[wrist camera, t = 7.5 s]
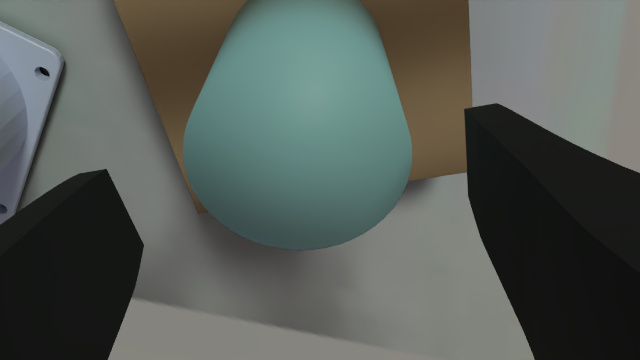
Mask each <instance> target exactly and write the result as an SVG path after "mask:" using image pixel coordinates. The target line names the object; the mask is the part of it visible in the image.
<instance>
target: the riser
mask: <svg viewBox="0 0 640 360" xmlns="http://www.w3.org/2000/svg"><path fill="white" fill-rule="evenodd" d="M113 1H114V3H115V6H116V8H117V11H118V13H119V16H120V18H121V21H122V23H123V26H124V28H125V31H126V33H127V36H128V38H129V41H130V43H131V46H132V48H133V51H134V53H135V56H136V58H137V61H138V64H139V66H140V69H141V71H142V74H143V76H144V79H145V81H146V84H147V86H148V89H149V91H150V94H151V96H152V99H153V101H154V104H155V106H156V109H157V111H158V114H159V116H160V119H161V121H162V124H163V126H164V129H165V131H166V134H167V136H168V139H169V141H170V144H171V146H172V149H173V151H174V154H175V156H176V159H177V161H178V164H179V166H180V169H181V171H182V174H183V176H184V179H185V181H186V184H187V186H188V189H189V191H190V194H191V196H192V199H193V201H194V204H195V206H196V209H197V211H198V213H204V212H208V211H207V210H206V209H205V207H204V206H203V205H202V203H201V202H200V201H199V199H198V198H197V196H196V194H195V193H194V191H193V189H192V187H191V185H190V182H189V180H188V177H187V174H186V170H185V166H184V158H183V140H184V134H185V129H186V125H187V122H188V120H189V117H190V115H191V112H192V110H193V108H194V105H195V103H196V101H197V99H198V97H199V94H200V92H201V90H202V88H203V86H204V83H205V81H206V79H207V77H208V74H209V72H210V70H211V68H212V66H213V63H214V61H215V59H216V57H217V55H218V52H219V50H220V48H221V46H222V44H223V41H224V39H225V37H226V35H227V33H228V30H229V28H230V26H231V24H232V22H233V20H234V18H235V16H236V14H237V13H238V11H239V10H240V9H241V7H242V6H243V5H244V4H245V3H246V2H247V1H248V0H113ZM359 1H360V2H361V3H363V5H364V6H365V7H366V8H367V10H368V11H369V12H370V14H371V15H372V17H373V19H374V20H375V22H376V24H377V27H378V29H379V32H380V35H381V38H382V42H383V45H384V48H385V52H386V55H387V58H388V62H389V65H390V69H391V72H392V75H393V79H394V82H395V85H396V89H397V92H398V95H399V99H400V102H401V105H402V109H403V112H404V115H405V119H406V122H407V125H408V129H409V133H410V136H411V143H412V165H411V171H410V176H409V179H408V181H413V180H419V179H426V178H432V177H439V176H445V175H452V174H458V173H465V172H467V159H466V138H465V117H464V109H466V108H472V82H471V56H470V30H469V4H468V0H359Z"/></svg>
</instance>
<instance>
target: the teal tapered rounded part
mask: <svg viewBox="0 0 640 360" xmlns="http://www.w3.org/2000/svg"><path fill="white" fill-rule="evenodd" d="M183 158H184V166H185V170H186V174H187V177H188V180H189V182H190V185H191V187H192V189H193V191H194V193H195V194H196V196H197V198H198V199H199V201H200V202H201V203H202V205H203V206H204V207H205V209H206V210H207V211H208V212H209V213H210V214H211V215H212V216H213V217H214V218H215V219H216V220H217V221H219V222H220V223H221V224H222V225H224V226H225V227H226V228H228V229H230V230H231V231H233V232H234V233H236V234H238V235H240V236H242V237H244V238H246V239H248V240H250V241H253V242H256V243H259V244H262V245H266V246H269V247H273V248H280V249H286V250H314V249H320V248H327V247H331V246H335V245H338V244H341V243H344V242H347V241H349V240H352V239H354V238H356V237H358V236H360V235H362V234H364V233H365V232H367V231H368V230H370V229H371V228H373V227H374V226H375V225H377V224H378V223H379V222H380V221H381V220H383V219H384V218H385V217H386V215H387V214H388V213H389V212H390V211H391V210H392V209H393V208H394V206H395V205H396V203H397V202H398V200H399V199H400V197H401V195H402V193H403V191H404V189H405V187H406V185H407V182H408V179H409V176H410V171H411V165H412V143H411V136H410V133H409V129H408V125H407V122H406V119H405V115H404V112H403V109H402V105H401V102H400V99H399V95H398V92H397V89H396V85H395V82H394V79H393V75H392V72H391V69H390V65H389V62H388V58H387V55H386V52H385V48H384V45H383V42H382V38H381V35H380V32H379V29H378V27H377V24H376V22H375V20H374V19H373V17H372V15H371V14H370V12H369V11H368V10H367V8H366V7H365V6H364V5H363V3H361V2H360V1H359V0H248V1H247V2H246V3H245V4H244V5H243V6H242V7H241V9H240V10H239V11H238V13H237V14H236V16H235V18H234V20H233V22H232V24H231V26H230V28H229V30H228V33H227V35H226V37H225V39H224V41H223V44H222V46H221V48H220V50H219V52H218V55H217V57H216V59H215V61H214V63H213V66H212V68H211V70H210V72H209V74H208V77H207V79H206V81H205V83H204V86H203V88H202V90H201V92H200V94H199V97H198V99H197V101H196V103H195V105H194V108H193V110H192V112H191V115H190V117H189V120H188V122H187V125H186V129H185V134H184V140H183Z"/></svg>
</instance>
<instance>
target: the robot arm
mask: <svg viewBox="0 0 640 360" xmlns="http://www.w3.org/2000/svg"><path fill="white" fill-rule="evenodd" d="M63 66H64V59H63V56H62V54H61V53H60V52H59V51H58V50H57V49H55V48H54V47H52V46H50V45H48V44H46V43H44V42H42V41H40V40H38V39H36V38H34V37H32V36H30V35H28V34H26V33H24V32H21V31H19V30H17V29H15V28H13V27H11V26H9V25H7V24H5V23H3V22H1V21H0V204H2V205H4V206H5V207H6V208H4V207H2V206H1V205H0V360H108V357H109V355H110V352H111V350H112V347H113V344H114V342H115V339H116V337H117V334H118V332H119V329H120V326H121V324H122V321H123V319H124V316H125V313H126V310H127V308H128V305H129V302H130V300H131V297H132V294H133V291H134V289H135V285H136V281H137V277H138V272H139V268H140V263H141V258H142V252H143V247H144V244H143V242H142V240H141V238H140V236H139V234H138V232H137V230H136V228H135V226H134V224H133V222H132V220H131V218H130V216H129V214H128V212H127V210H126V208H125V206H124V204H123V201H122V199H121V197H120V195H119V193H118V191H117V189H116V187H115V185H114V183H113V181H112V179H111V177H110V175H109V173H108V171H107V169H104V170H98V171H92V172H86V173H80V174H77V175H75V176H73V177H71V178H69V179H68V180H66V181H64V182H62V183H61V184H59V185H57V186H56V187H54V188H53V189H51V190H50V191H48V192H47V193H45V194H44V195H42V196H41V197H39V198H38V199H36V200H35V201H33V202H32V203H30V204H29V205H28V206H26V207H25V208H23V209H22V210H20V211H19V212H17V213H16V210H17V207H18V204H19V200H20V197H21V194H22V191H23V188H24V185H25V182H26V179H27V176H28V173H29V170H30V167H31V164H32V161H33V158H34V155H35V152H36V148H37V145H38V142H39V139H40V136H41V133H42V130H43V127H44V124H45V121H46V118H47V115H48V112H49V109H50V106H51V103H52V100H53V96H54V93H55V90H56V87H57V84H58V81H59V78H60V75H61V72H62V69H63ZM39 67H43V68H45V69H46V70H48V72H49V74H50V76H45V75H44V74H42V73H41V71H40V69H39ZM464 117H465V138H466V159H467V180H468V197H469V200H470V204H471V207H472V211H473V214H474V217H475V221H476V224H477V227H478V230H479V234H480V237H481V239H482V242H483V244H484V246H485V248H486V251H487V253H488V255H489V257H490V259H491V262H492V264H493V266H494V268H495V270H496V273H497V275H498V277H499V279H500V281H501V283H502V286H503V288H504V290H505V292H506V294H507V296H508V299H509V301H510V303H511V305H512V307H513V309H514V312H515V314H516V316H517V318H518V320H519V322H520V325H521V327H522V329H523V331H524V333H525V336H526V338H527V341H528V343H529V346H530V348H531V351H532V353H533V356H534V359H535V360H640V173H638V172H636V171H633V170H631V169H628V168H625V167H623V166H621V165H618V164H616V163H614V162H611V161H609V160H607V159H605V158H603V157H600V156H598V155H596V154H594V153H591V152H589V151H587V150H585V149H583V148H581V147H579V146H577V145H575V144H573V143H571V142H569V141H567V140H565V139H563V138H561V137H559V136H557V135H555V134H554V133H552V132H550V131H548V130H546V129H544V128H542V127H541V126H539V125H537V124H535V123H533V122H532V121H530V120H528V119H526V118H524V117H523V116H521V115H519V114H517V113H515V112H514V111H512V110H510V109H508V108H506V107H504V106H502V105H500V104H498V103H496V104H490V105H484V106H478V107H472V108H466V109H464ZM15 213H16V214H15Z"/></svg>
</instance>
